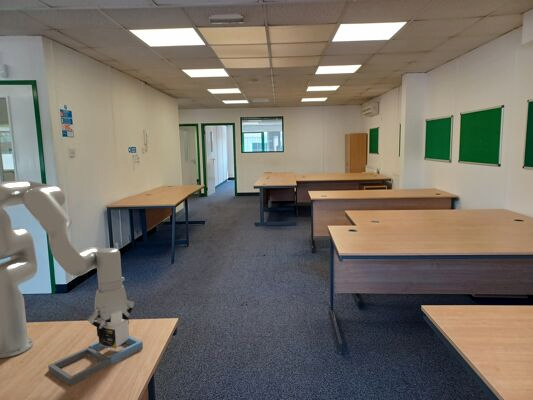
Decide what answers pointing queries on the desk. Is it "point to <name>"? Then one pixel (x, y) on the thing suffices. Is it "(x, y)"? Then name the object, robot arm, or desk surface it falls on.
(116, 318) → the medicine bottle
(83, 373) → the frame
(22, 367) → the desk surface
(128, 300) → the robot arm
